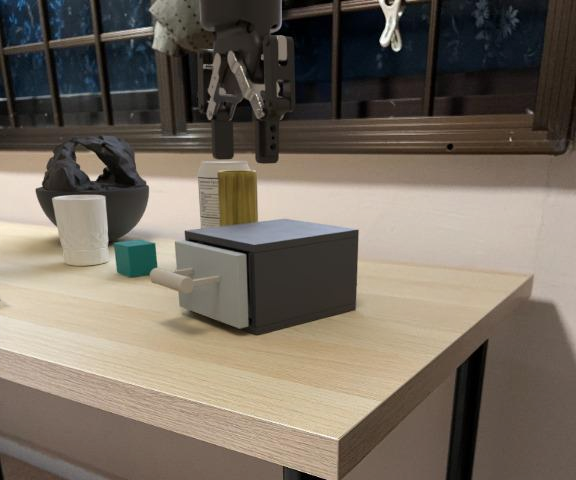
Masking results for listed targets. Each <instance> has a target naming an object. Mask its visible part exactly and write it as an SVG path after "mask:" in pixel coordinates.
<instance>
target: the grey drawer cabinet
mask: <svg viewBox="0 0 576 480" xmlns="http://www.w3.org/2000/svg"><path fill="white" fill-rule="evenodd" d="M359 231H360V230H359V229H358V228H352V227H344V226H337V225H331V224H325V223H324V224H323V223H318V222H310V221H303V220H296V219H290V218H279V219H271V220H262V221H261V220H260V221H258V222H253V223H244V224H236V225H228V226H219V227H211V228H202V229H201V228H196V229H195V228H194V229H187V230H186V229H185V230H184V240H185V241H189V242H194V243H198V241H202V242H207V243H211V244H216V245H220V246H225V247H229V248H234V249H238V250H243V251H248V252H250V278H251V311H252V318H249V317H248V324H249V326H248V327H244V328H240V329H239V330H242V331H244V332H247V333H250V334H252V335H255V336H259V335H263V334H267V333H270V332H275V331H278V330H279V331H280V330H282V329H285V328H289V327H293V326H299V325H302V324H305V323H309V322H313V321H318V320H320V319H321V320H322V319H324V318H328V317H332V316H335V315H340V314H344V313H347V312H350V311H355V310H356V309H357V293H358V292H357V290H358V289H357V287H358V260H359V235H360V233H359ZM189 311H191V310H189ZM191 312H192V311H191ZM216 321H217V322H219V321H218V320H216ZM225 324H226V323H224V325H225ZM226 325H227V324H226ZM232 327H234V326H232ZM234 328H235V327H234Z"/></svg>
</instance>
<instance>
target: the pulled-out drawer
mask: <svg viewBox="0 0 576 480" xmlns="http://www.w3.org/2000/svg"><path fill="white" fill-rule="evenodd" d="M174 250H175V251H174V253H175V262H176V264H175V265H176V269H174V270H166V269H164V268H163V269H162V268H159V267H158V268H154V269H153V270H152V271H151V272H150V275H149V281H150V282H151V283H153V284H156V285H158V286H161V287H164V288H167V289H170V290H173V291H176V292H178V305H179V307H180V308H182V309H186V310H188V311H190V310H191V312H193V313H196V314H199V315H201V316H204V317H207V318H209V319H212V320H215V321H217V320H218V321H217V322H221V323H223V324H225V323H226V325H228V326H231V327H233V326H234V328H236V329H239V330H241V329H240V328H244V327H248V326H249V324H248V317H249V318H252V311H251V278H250V252H248V251H243V250H238V249H234V248H229V247H225V246H220V245H216V244H211V243H207V242H202V241H198V243H194V242H189V241H185V239H182V240H175V241H174Z"/></svg>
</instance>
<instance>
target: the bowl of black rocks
mask: <svg viewBox="0 0 576 480" xmlns="http://www.w3.org/2000/svg"><path fill="white" fill-rule="evenodd" d="M78 145H81V146H83V147H84V148H86V149H87V150H90V151H91V152H93V153H94V154H95V155H96V156H97V158H98V160H100V161H101V162H102V164H103V165H105V167H104V168H103V169H102V173H100V174H99V175H98V176H97V178H96V180H91V179H90V176H89V175H88V174H87V173H86V172H85V171H84V170H83V169H81V165H80V164H79V163H77V155H76V151H77V146H78ZM103 149H104V150H103ZM52 153H53V156H51V157H49V159H48V161H47V163H46V167H45V169H46V171H44V176H43V180H42V182H41V186H40V187H35V189H34V190H35V195H36V198H37V201H38V203H39V207H40V208H41V210H42V212H43V213H44V214H45V216H46V218H48V220H49V221H50V222H51V223H52V224H53V225H54V226H55V227H56V228H57V223H56V218H55V212H54V207H53V202H52V198H54V197H59V196H69V195H102V196H105V197H106V211H107V224H108V242H111V241H115V240H118V239H120V238H122V237H124V236H126V235H128V233H130V232H131V231H132V230H133V229H134V228H135V227H136V226H137V225H138V224H139V222H141V220H142V218H143V216H144V214H145V212H146V209H147V207H148V203H149V199H150V198H149V197H150V186H149V184H147V180H145V179H143V178H142V177H141V175H140V174H139V172H138V171H137V163H136V154H135V149H134V148H133V147H132V146H131V145H129V143H128V142H126V141H125V140H124V139H123V138H121V137H116V136H113V135H105V134H99V135H98V137H95V136H93V135H87V136H86V138H85V139H84V138H82V137H81V136H79V135H72V136H70V137H68V138H67V139H66V140H64V141H63V142H61V143H59V144H57V145H55V147H53V150H52Z"/></svg>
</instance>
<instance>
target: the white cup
mask: <svg viewBox="0 0 576 480" xmlns="http://www.w3.org/2000/svg"><path fill="white" fill-rule="evenodd" d="M52 202H53V207H54V212H55V218H56V223H57V227H56V229H57V234H58V236H59V241H60V246H61V248H62V253H63V261H64V263H65V265H69V266H77V267H78V266H80V267H86V266H96V265H102V264H106V263H108V262H109V261H110V252H109V246H108V245H109V241H108V224H107V211H106V197H105V196H102V195H69V196H59V197H54V198H52Z"/></svg>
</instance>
